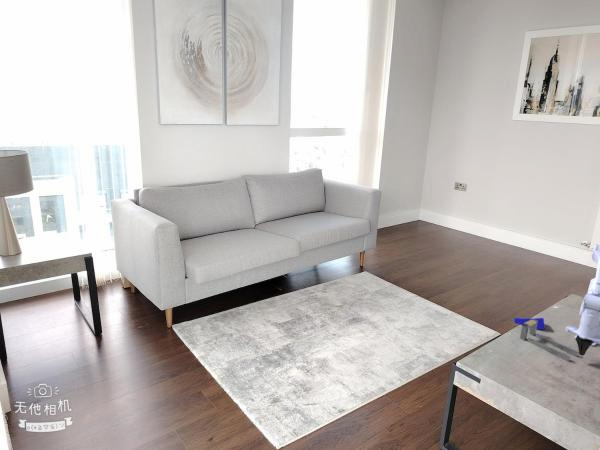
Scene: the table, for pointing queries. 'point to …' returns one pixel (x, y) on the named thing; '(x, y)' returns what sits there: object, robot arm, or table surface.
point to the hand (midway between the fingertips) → (581, 354)
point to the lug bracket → (526, 325)
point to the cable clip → (523, 320)
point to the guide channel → (554, 349)
